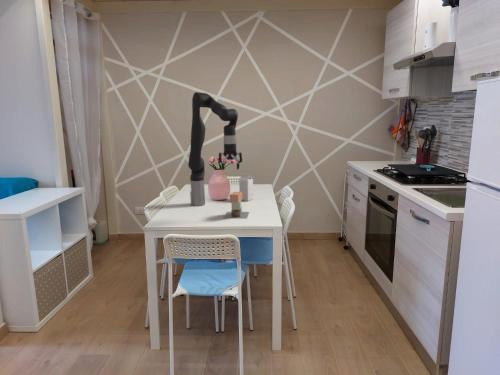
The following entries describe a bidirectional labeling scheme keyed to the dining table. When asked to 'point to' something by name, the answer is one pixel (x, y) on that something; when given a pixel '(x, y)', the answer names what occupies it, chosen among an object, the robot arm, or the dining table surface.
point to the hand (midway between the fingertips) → (230, 169)
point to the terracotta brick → (236, 197)
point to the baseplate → (243, 216)
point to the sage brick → (236, 205)
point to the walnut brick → (236, 213)
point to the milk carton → (246, 187)
